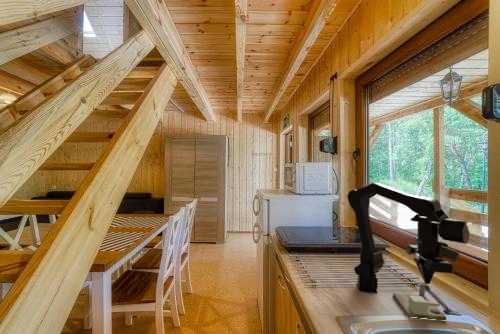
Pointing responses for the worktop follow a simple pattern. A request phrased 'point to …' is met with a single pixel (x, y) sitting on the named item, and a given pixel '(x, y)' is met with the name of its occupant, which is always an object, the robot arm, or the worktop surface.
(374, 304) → the worktop surface
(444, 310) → the tactical tomahawk
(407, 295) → the board
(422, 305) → the pointer block
